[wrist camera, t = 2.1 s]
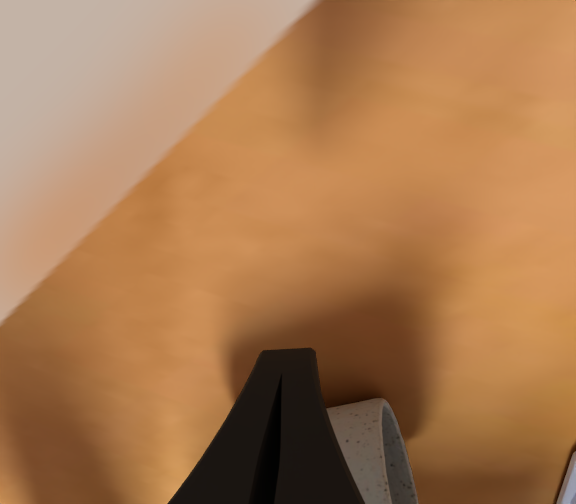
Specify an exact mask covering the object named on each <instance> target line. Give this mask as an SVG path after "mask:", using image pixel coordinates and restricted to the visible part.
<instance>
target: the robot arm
mask: <svg viewBox="0 0 576 504" xmlns="http://www.w3.org/2000/svg"><path fill="white" fill-rule="evenodd" d="M168 504H365V502H364V500H363V498H362V495H361V493H360V491H359V489H358V487H357V485H356V483H355V481H354V478H353V476H352V474H351V472H350V469H349V467H348V465H347V462H346V460H345V458H344V455H343V453H342V450H341V448H340V445H339V443H338V441H337V438H336V435H335V433H334V430H333V427H332V425H331V422H330V419H329V415H328V412H327V409H326V406H325V403H324V400H323V397H322V393H321V388H320V381H319V374H318V366H317V359H316V352H315V351H314V350H313V349H312V348H299V349H281V350H263V351H262V352H261V353H260V355H259V357H258V359H257V361H256V364H255V366H254V368H253V370H252V372H251V374H250V376H249V378H248V380H247V382H246V384H245V386H244V388H243V389H242V391H241V393H240V395H239V397H238V399H237V400H236V402H235V404H234V406H233V407H232V409H231V411H230V413H229V414H228V416H227V418H226V420H225V421H224V423H223V425H222V426H221V428H220V429H219V431H218V433H217V434H216V436H215V437H214V439H213V440H212V442H211V443H210V445H209V447H208V448H207V450H206V451H205V453H204V454H203V456H202V457H201V459H200V460H199V462H198V463H197V465H196V466H195V467H194V469H193V470H192V472H191V473H190V474H189V476H188V477H187V479H186V480H185V481H184V483H183V484H182V485H181V487H180V488H179V489H178V491H177V492H176V493H175V495H174V496H173V497H172V499H171V500H170V501H169V502H168ZM556 504H576V451H575V452H574V453H573V455H572V458H571V461H570V464H569V467H568V470H567V473H566V476H565V479H564V482H563V485H562V488H561V491H560V494H559V497H558V500H557V503H556Z"/></svg>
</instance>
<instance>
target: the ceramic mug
mask: <svg viewBox="0 0 576 504" xmlns="http://www.w3.org/2000/svg"><path fill="white" fill-rule="evenodd" d="M326 409H327V412H328V415H329V419H330V422H331V425H332V427H333V430H334V433H335V435H336V438H337V441H338V443H339V445H340V448H341V450H342V453H343V455H344V458H345V460H346V462H347V465H348V467H349V469H350V472H351V474H352V476H353V478H354V481H355V483H356V485H357V487H358V489H359V491H360V493H361V495H362V498H363V500H364V502H365V504H419V503H418V498H417V492H416V488H415V484H414V480H413V475H412V470H411V466H410V463H409V459H408V455H407V451H406V447H405V443H404V440H403V438H402V436H401V433H400V429H399V425H398V422H397V419H396V417H395V415H394V413H393V411H392V408H391V407H390V405H389V403H388V402H387V401H386V400H385V399H382V398H374V399H370V400H365V401H361V402H356V403H351V404H346V405H341V406H336V407H331V408H326Z"/></svg>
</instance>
